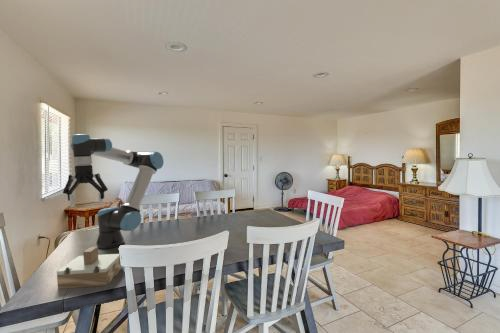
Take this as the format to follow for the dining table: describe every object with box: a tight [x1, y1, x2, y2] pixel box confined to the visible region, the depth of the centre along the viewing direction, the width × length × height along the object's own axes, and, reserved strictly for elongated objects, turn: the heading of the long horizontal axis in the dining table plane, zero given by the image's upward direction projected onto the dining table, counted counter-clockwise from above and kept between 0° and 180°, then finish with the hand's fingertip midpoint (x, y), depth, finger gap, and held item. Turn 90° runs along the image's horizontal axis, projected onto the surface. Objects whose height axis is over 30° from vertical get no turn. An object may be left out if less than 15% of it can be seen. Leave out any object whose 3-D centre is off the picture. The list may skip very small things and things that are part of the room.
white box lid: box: [56, 246, 120, 276], centre depth 117 cm, size 16×20×8 cm
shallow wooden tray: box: [56, 259, 123, 289], centre depth 117 cm, size 16×20×8 cm
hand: (87, 206), depth 131 cm, fingers open, 13 cm apart
